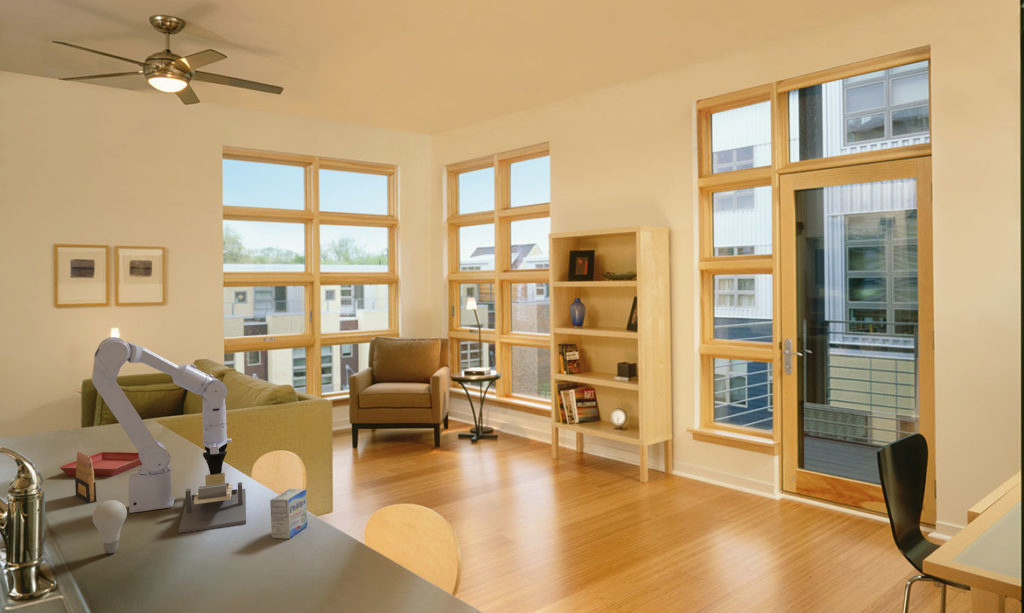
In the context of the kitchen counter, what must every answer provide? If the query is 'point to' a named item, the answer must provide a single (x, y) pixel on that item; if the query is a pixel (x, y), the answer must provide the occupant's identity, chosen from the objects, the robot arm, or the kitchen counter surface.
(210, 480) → the block
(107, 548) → the lightbulb
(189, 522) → the stand
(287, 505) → the medicine box
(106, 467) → the red tray
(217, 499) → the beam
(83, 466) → the ammunition clip
